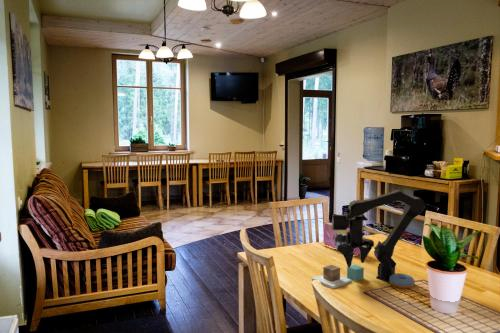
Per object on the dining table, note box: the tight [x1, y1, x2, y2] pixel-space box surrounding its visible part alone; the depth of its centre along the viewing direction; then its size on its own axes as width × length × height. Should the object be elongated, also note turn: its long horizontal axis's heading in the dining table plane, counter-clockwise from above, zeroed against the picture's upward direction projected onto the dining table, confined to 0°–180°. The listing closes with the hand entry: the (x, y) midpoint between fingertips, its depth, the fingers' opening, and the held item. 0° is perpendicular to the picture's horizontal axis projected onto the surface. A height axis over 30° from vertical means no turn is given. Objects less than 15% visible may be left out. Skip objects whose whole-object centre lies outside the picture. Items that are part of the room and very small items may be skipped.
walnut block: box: [322, 264, 341, 282], centre depth 172 cm, size 5×5×5 cm
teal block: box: [346, 264, 365, 282], centre depth 176 cm, size 5×5×5 cm
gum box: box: [323, 221, 365, 256], centre depth 218 cm, size 24×8×14 cm, turn 32°
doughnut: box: [389, 273, 416, 289], centre depth 167 cm, size 10×10×5 cm
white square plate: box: [311, 274, 353, 290], centre depth 172 cm, size 12×12×1 cm
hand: (355, 264), depth 175 cm, fingers open, 9 cm apart
